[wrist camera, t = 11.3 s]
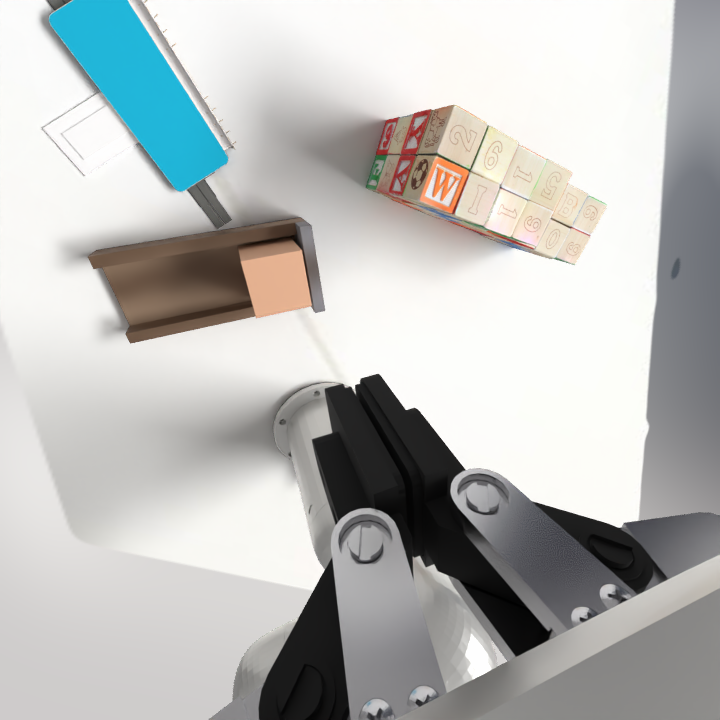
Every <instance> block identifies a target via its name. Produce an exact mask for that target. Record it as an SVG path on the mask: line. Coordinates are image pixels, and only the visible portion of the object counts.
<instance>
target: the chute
mask: <svg viewBox="0 0 720 720" xmlns="http://www.w3.org/2000/svg"><path fill="white" fill-rule="evenodd" d="M288 237H291V238H292V240H293V241H294V242H295V243H296V244H297V245H298V246H299V248H300V249H301V250H302V254H303V260H304V265H305V271H306V276H307V282H308V287H309V293H310V298H311V304H312V306H311V307H312V308H313V310H314V312H315V313H318V312H322V311H325V306H324V300H323V294H322V288H321V282H320V276H319V269H318V263H317V257H316V251H315V245H314V239H313V232H312V226H311V225H310V224H309V223H308V222H306V221H305V220H304V219H302V218H301V217H300V218H294V219H287V220H281V221H275V222H269V223H263V224H256V225H250V226H244V227H238V228H231V229H225V230H219V231H213V232H207V233H200V234H194V235H188V236H182V237H175V238H169V239H163V240H157V241H151V242H144V243H138V244H132V245H126V246H119V247H113V248H107V249H101V250H96V251H95V252H93V253H92V254H91V255H89V256H88V258H89V260H90V262H91V265H92V267H93V269H96V268H103V270H104V273H105V275H106V277H107V279H108V281H109V283H110V285H111V287H112V289H113V291H114V294H115V296H116V298H117V300H118V302H119V304H120V306H121V308H122V310H123V312H124V314H125V317H126V319H127V321H128V323H129V325H130V327H129V328H128V330H127V332H126V336H127V338H128V340H129V342H130V343H135V342H139V341H144V340H149V339H153V338H158V337H162V336H167V335H172V334H176V333H181V332H185V331H190V330H195V329H199V328H204V327H208V326H213V325H218V324H222V323H227V322H231V321H236V320H241V319H245V318H250V317H254V316H256V315H255V312H254V308H253V304H252V301H251V297H250V293H249V290H248V286H247V282H246V279H245V275H244V271H243V268H242V264H241V260H240V255H239V250H238V246H242V245H248V244H254V243H259V242H265V241H271V240H277V239H283V238H288Z"/></svg>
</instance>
